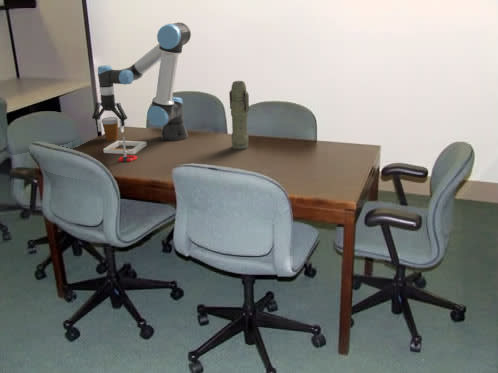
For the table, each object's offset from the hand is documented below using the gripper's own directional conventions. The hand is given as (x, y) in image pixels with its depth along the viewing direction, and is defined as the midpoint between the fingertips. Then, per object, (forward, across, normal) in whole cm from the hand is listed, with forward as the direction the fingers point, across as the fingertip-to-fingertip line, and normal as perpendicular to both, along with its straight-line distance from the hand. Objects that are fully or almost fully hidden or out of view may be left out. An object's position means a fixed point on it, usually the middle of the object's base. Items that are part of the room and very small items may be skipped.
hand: (111, 131), depth 314 cm
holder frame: (+5, -16, +17) cm, 24 cm away
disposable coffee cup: (+5, 0, 0) cm, 5 cm away
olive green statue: (+5, -76, +4) cm, 76 cm away
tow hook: (+5, -25, +34) cm, 43 cm away
